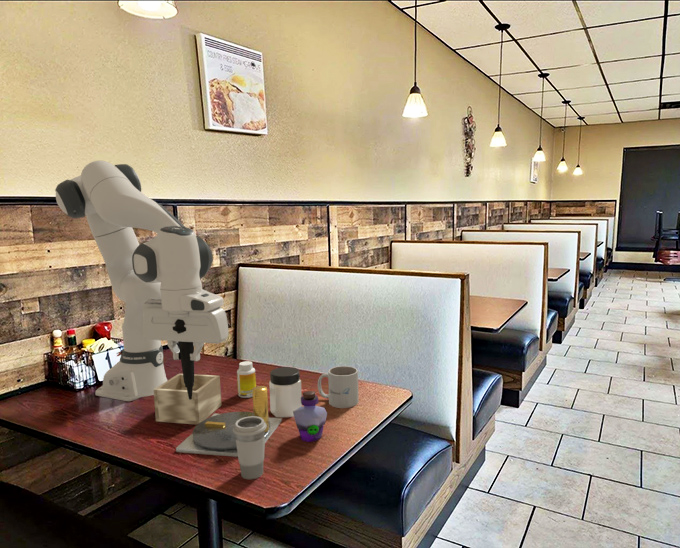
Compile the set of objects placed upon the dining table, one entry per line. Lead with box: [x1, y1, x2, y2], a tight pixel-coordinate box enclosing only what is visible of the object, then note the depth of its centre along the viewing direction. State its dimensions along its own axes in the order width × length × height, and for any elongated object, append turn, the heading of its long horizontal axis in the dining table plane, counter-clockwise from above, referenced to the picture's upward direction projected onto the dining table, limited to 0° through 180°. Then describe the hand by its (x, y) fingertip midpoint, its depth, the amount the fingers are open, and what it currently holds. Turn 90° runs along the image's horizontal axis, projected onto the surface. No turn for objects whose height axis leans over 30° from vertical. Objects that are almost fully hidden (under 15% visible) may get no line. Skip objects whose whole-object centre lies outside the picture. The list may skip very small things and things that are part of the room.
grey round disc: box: [192, 385, 270, 450], centre depth 121 cm, size 19×19×12 cm
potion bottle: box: [293, 390, 328, 443], centre depth 119 cm, size 9×9×12 cm
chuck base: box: [175, 412, 283, 458], centre depth 122 cm, size 20×20×1 cm
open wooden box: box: [153, 373, 222, 426], centre depth 136 cm, size 13×13×9 cm
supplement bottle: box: [236, 360, 257, 399], centre depth 148 cm, size 6×6×10 cm
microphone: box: [173, 319, 195, 400], centre depth 110 cm, size 6×6×20 cm
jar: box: [268, 366, 303, 418], centre depth 135 cm, size 9×8×12 cm
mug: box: [317, 365, 359, 409], centre depth 141 cm, size 12×9×10 cm
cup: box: [233, 416, 267, 480], centre depth 103 cm, size 7×7×12 cm
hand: (186, 359), depth 109 cm, fingers closed on microphone, 3 cm apart
